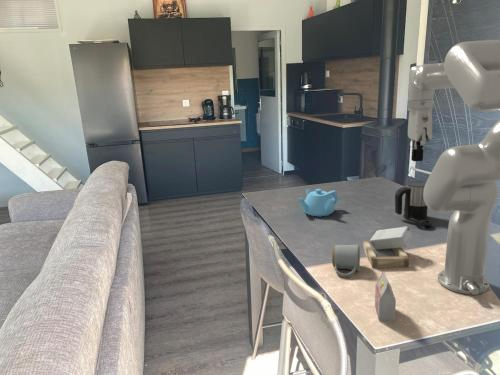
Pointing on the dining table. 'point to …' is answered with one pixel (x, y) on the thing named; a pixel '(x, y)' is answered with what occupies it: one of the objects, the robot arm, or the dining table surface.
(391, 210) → the dining table surface
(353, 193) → the dining table surface
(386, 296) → the tea bag
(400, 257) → the wooden tray
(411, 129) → the robot arm
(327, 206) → the teapot
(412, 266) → the dining table surface
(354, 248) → the ceramic mug
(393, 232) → the skincare box
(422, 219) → the black and silver appliance
